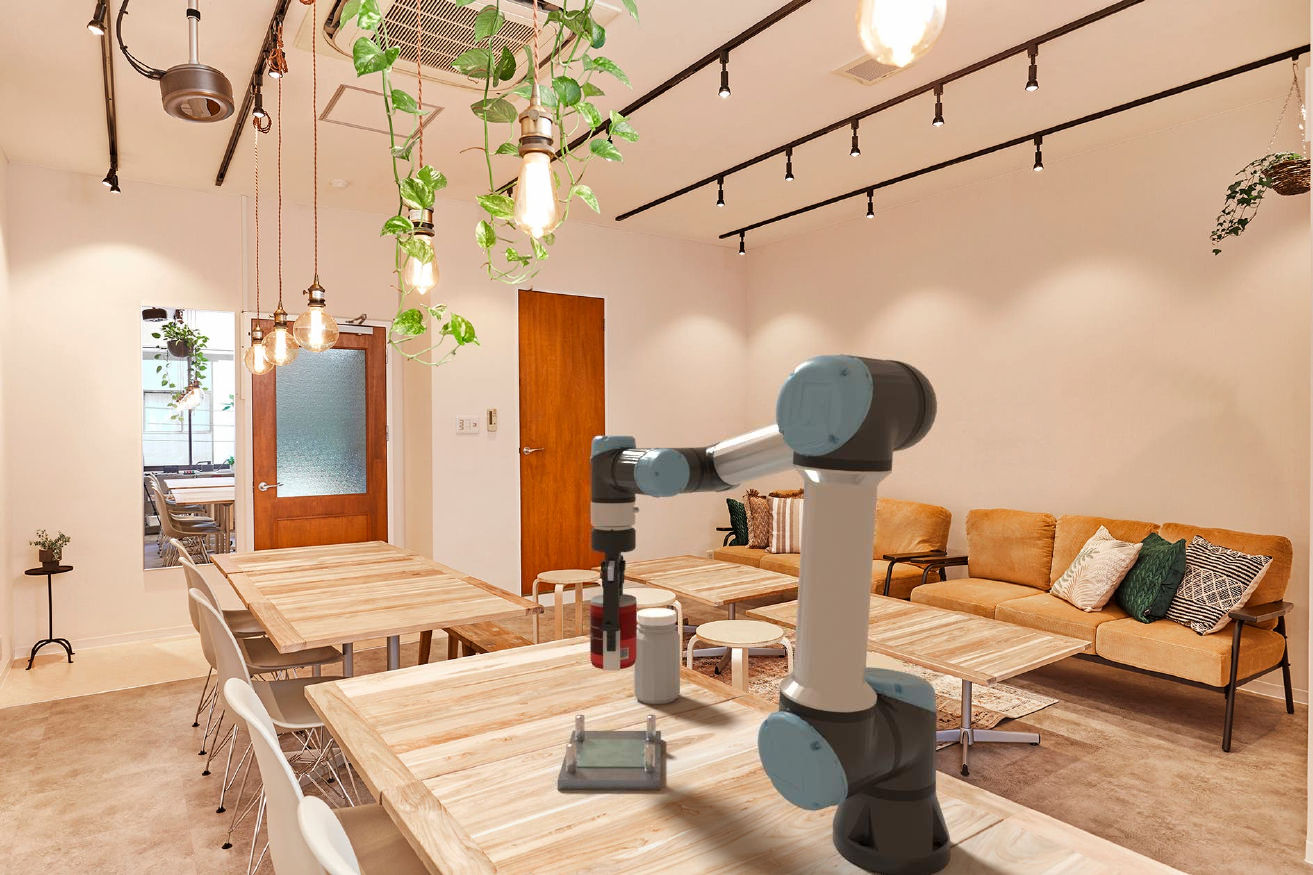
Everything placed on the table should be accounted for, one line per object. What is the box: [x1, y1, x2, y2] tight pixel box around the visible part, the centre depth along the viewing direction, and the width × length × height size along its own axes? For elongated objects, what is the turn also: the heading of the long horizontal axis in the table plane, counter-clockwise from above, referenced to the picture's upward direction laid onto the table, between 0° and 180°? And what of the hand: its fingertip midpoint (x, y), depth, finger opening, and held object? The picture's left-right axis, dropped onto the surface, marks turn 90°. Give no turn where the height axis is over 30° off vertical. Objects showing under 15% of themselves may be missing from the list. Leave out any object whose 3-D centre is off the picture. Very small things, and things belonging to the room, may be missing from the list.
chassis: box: [557, 714, 662, 791], centre depth 130 cm, size 20×16×6 cm
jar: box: [633, 607, 681, 705], centre depth 162 cm, size 10×10×18 cm
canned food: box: [589, 593, 638, 670], centre depth 130 cm, size 8×8×11 cm
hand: (613, 661), depth 130 cm, fingers closed on canned food, 8 cm apart
